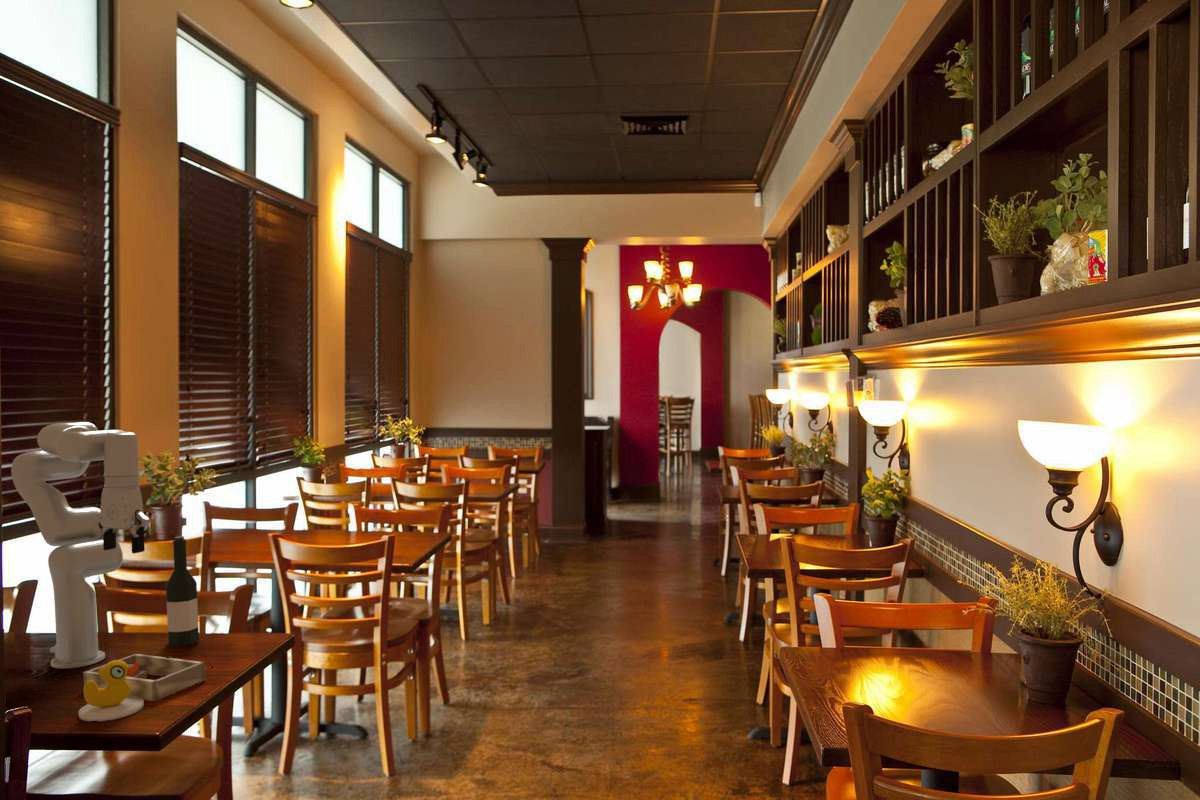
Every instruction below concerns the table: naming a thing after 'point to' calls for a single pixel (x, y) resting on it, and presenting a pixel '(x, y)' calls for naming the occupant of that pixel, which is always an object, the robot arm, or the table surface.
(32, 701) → the table surface
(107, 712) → the plate
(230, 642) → the table surface
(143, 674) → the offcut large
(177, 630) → the wine bottle
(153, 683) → the tray
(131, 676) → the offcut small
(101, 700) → the duckling
